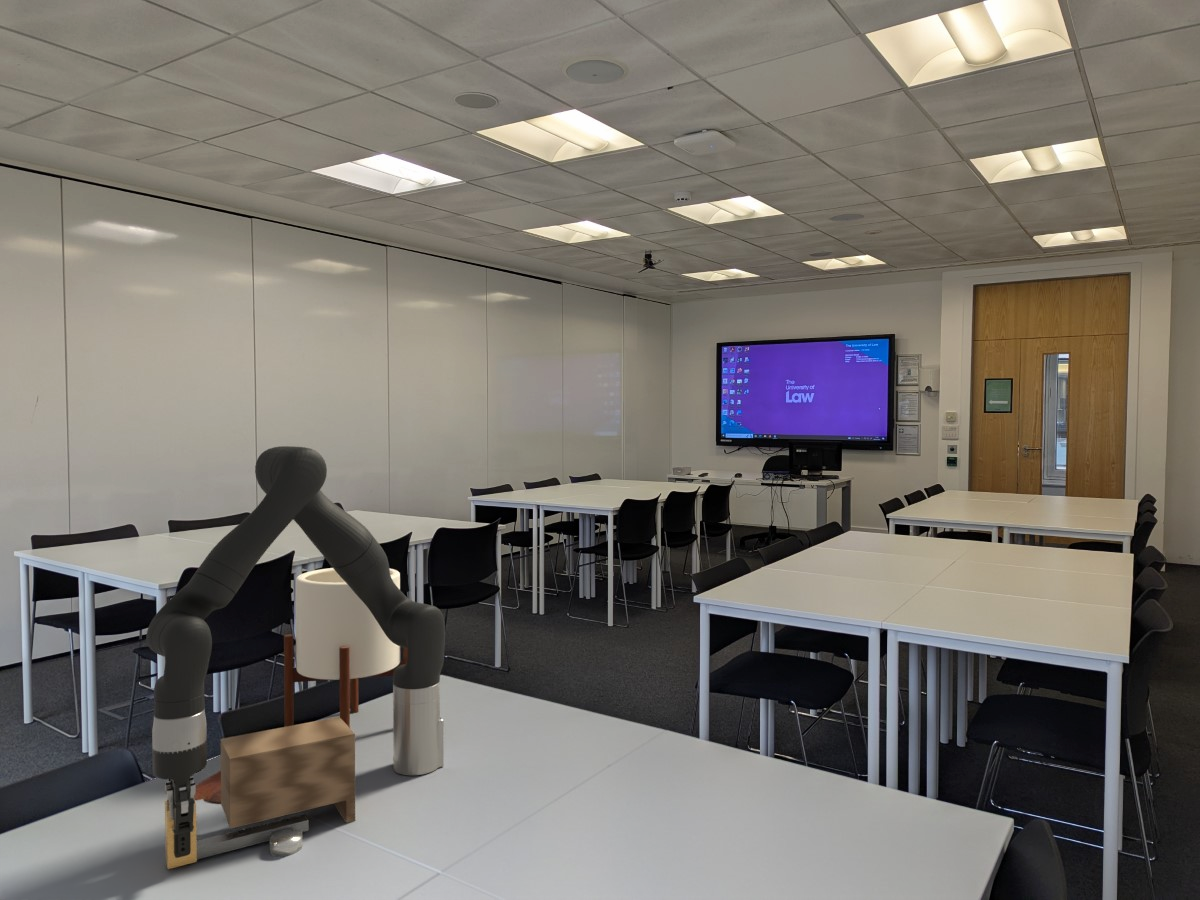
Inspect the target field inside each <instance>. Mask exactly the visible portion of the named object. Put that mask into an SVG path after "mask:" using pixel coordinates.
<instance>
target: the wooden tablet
mask: <svg viewBox="0 0 1200 900" xmlns="http://www.w3.org/2000/svg"><path fill="white" fill-rule="evenodd" d="M195 786H196V793H195V795H194V799H195V801H199V800H202V801H204V802H207V803H211V804H221V770H219V771H218V772H216V773H214V774H212V775H211V776H209V777H207V778H205V779H204V780H202V781H201V782H199V783H198V784H195Z"/></svg>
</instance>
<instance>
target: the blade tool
mask: <svg viewBox="0 0 1200 900" xmlns="http://www.w3.org/2000/svg"><path fill="white" fill-rule="evenodd" d="M194 800H195V799H194ZM194 807H195V812H194V814H193V825H194V829H193V831H192V832H190V837H191V852H190V854H189V855H187V856H183V857H179V858H176V857H175V855H174V833H173V832H172V829H173V819H171V818H170V817H169V802H167V800H165V801H164V832H165V833H164V834H165V835H164V842H165V843H164V846H165V847H164V848H165V850H164V851H165V852H164V853H165V863H166V867H167V870H169V869H170V870H171V869H174V868H178V867H181V866H185V865H188V864H193V863H197V862H198V861H197V860H199V859H203V858H207V857H211V856H212V857H213V856H215V855H219V854H223V853H227V852H231V851H235V850H238V849H242V848H246V847H250V846H251V847H252V846H254V845H257V844H262V843H265V842H270V837H271V836H272V835H273V834H275V833H277V832H279V831H282V830H287V829H296V830H300V831H301V832H302V833H304V832H308V831H309V827H310V826H309V819H308V816H307V815H306V813H305V814H299V815H295V816H291V817H287V818H284V819H278V820H275V821H270V822H266V823H263V824H259V825H255V826H251V827H247V828H243V829H239V830H235V831H231V832H227V833H222V834H218V835H214V836H210V837H206V838H203V839H199V840H197V803H196V800H195V803H194ZM173 811H174V812H175V808H174V807H173ZM186 823H187V822H182V823H180V824H179V825H182V824H186Z"/></svg>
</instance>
